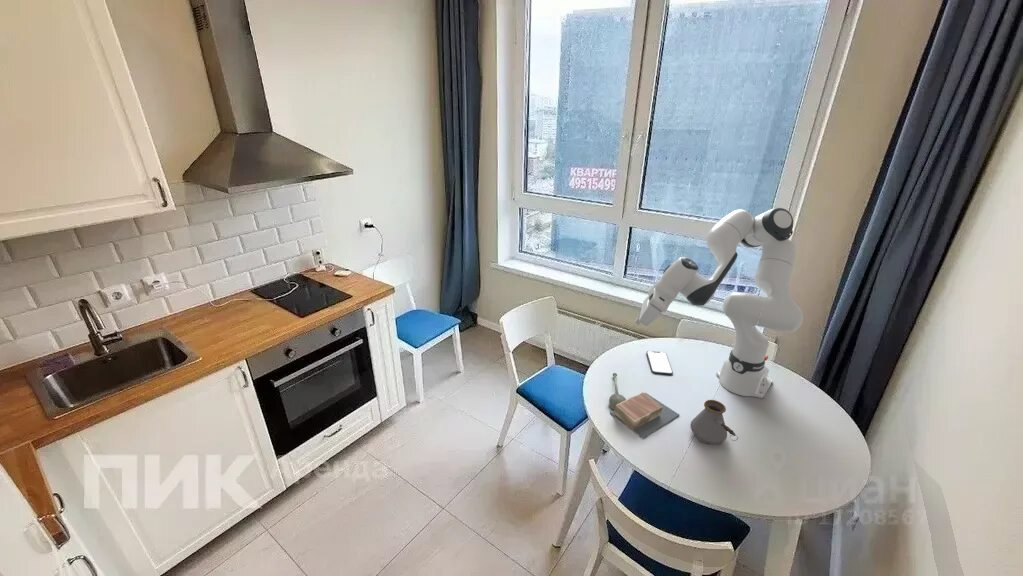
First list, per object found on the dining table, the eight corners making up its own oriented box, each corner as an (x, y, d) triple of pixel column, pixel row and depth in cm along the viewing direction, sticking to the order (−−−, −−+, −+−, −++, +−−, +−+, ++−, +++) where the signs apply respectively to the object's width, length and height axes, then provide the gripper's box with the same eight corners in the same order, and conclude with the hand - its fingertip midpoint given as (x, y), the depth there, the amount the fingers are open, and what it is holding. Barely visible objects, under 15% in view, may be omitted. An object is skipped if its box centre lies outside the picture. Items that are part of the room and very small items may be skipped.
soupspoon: (608, 411, 150) (626, 414, 149) (609, 404, 149) (628, 406, 148) (606, 375, 170) (622, 377, 169) (607, 368, 168) (624, 370, 167)
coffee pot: (684, 422, 145) (693, 388, 139) (718, 425, 144) (728, 391, 138) (704, 471, 126) (715, 434, 120) (743, 475, 125) (756, 437, 119)
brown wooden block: (643, 391, 152) (615, 404, 145) (662, 407, 146) (635, 421, 139) (640, 400, 154) (614, 413, 147) (659, 415, 147) (632, 430, 141)
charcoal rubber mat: (645, 393, 159) (645, 392, 159) (679, 415, 148) (679, 414, 148) (609, 413, 149) (610, 412, 149) (643, 438, 138) (643, 437, 137)
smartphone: (673, 377, 171) (665, 355, 185) (674, 373, 170) (666, 352, 184) (651, 375, 172) (645, 353, 186) (652, 371, 171) (646, 350, 185)
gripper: (654, 281, 159) (632, 307, 165) (651, 300, 141) (627, 328, 147) (668, 291, 158) (645, 316, 165) (667, 311, 140) (641, 338, 147)
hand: (636, 322), depth 156 cm, fingers closed
